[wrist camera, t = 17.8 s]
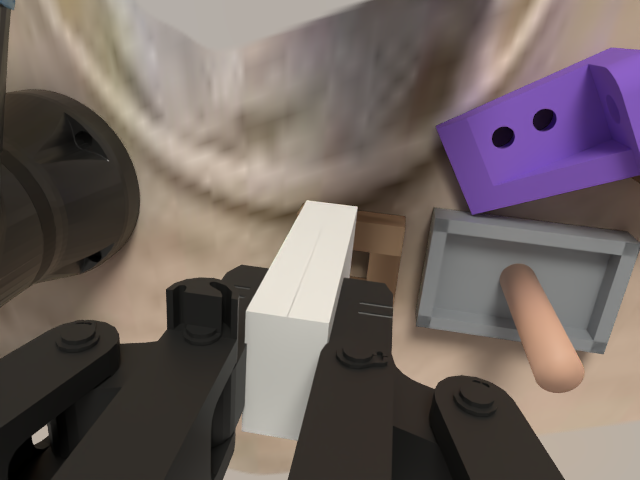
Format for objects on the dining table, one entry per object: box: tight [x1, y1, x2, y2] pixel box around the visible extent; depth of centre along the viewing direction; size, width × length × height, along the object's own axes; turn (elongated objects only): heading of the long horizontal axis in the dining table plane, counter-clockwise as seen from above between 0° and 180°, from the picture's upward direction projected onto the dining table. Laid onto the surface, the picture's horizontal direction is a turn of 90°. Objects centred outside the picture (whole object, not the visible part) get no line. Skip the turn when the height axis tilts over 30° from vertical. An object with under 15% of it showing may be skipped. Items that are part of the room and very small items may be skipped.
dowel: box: [500, 264, 585, 393], centre depth 35 cm, size 3×3×12 cm
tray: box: [416, 208, 640, 354], centre depth 40 cm, size 14×9×2 cm, turn 85°
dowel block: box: [297, 203, 405, 304], centre depth 41 cm, size 8×8×2 cm
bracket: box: [436, 48, 640, 215], centre depth 34 cm, size 12×7×7 cm, turn 116°
